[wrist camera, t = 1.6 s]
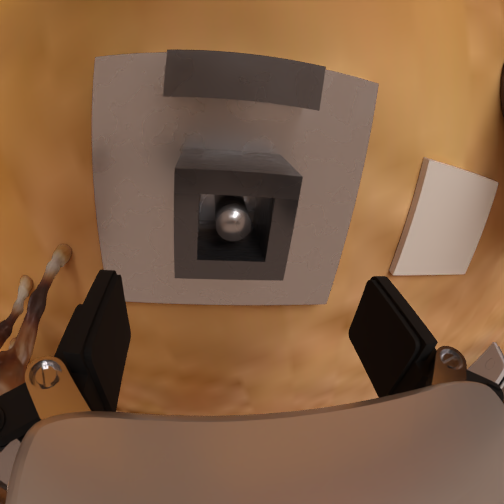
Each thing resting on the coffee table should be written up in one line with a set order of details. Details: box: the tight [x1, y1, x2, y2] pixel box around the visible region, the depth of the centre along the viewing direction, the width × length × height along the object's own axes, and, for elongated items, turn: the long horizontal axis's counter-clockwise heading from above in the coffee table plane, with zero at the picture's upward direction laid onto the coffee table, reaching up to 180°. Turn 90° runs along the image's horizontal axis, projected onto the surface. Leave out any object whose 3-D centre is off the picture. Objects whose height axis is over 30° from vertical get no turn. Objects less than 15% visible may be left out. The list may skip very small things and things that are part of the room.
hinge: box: [467, 342, 504, 389], centre depth 40 cm, size 17×5×10 cm, turn 148°
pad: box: [389, 157, 499, 275], centre depth 24 cm, size 11×11×1 cm
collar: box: [174, 148, 303, 281], centre depth 17 cm, size 6×6×5 cm
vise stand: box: [92, 50, 379, 305], centre depth 18 cm, size 18×18×6 cm
